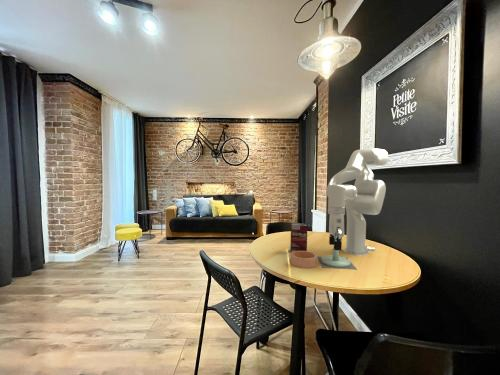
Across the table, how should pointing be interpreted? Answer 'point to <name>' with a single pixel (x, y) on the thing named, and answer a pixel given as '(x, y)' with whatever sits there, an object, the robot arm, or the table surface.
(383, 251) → the table surface
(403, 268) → the table surface
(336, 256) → the lid
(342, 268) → the mat
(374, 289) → the table surface
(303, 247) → the supplement box
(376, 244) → the table surface
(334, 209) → the robot arm
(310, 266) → the bowl
